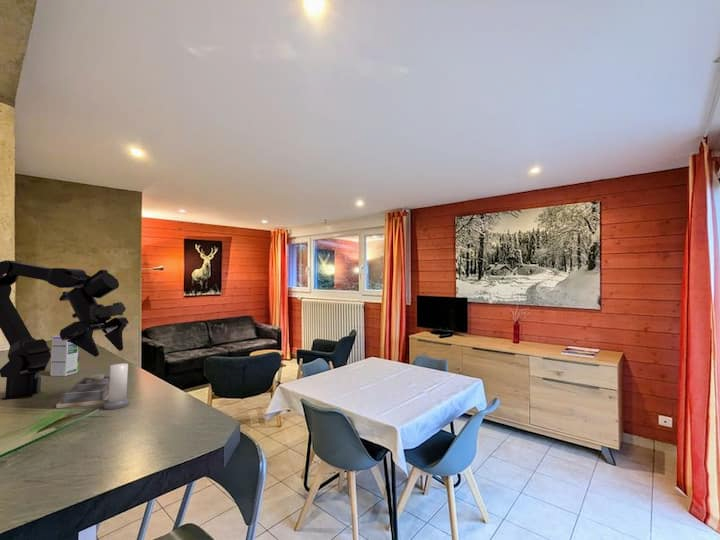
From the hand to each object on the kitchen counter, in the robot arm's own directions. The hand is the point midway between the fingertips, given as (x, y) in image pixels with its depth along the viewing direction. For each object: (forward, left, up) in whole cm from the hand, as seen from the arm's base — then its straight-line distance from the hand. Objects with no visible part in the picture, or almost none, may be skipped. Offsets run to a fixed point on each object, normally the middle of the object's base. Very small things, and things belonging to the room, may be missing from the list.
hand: (109, 352), depth 100 cm
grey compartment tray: (-5, +4, -13) cm, 14 cm away
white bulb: (+4, -8, -13) cm, 16 cm away
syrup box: (-21, +37, -13) cm, 45 cm away
